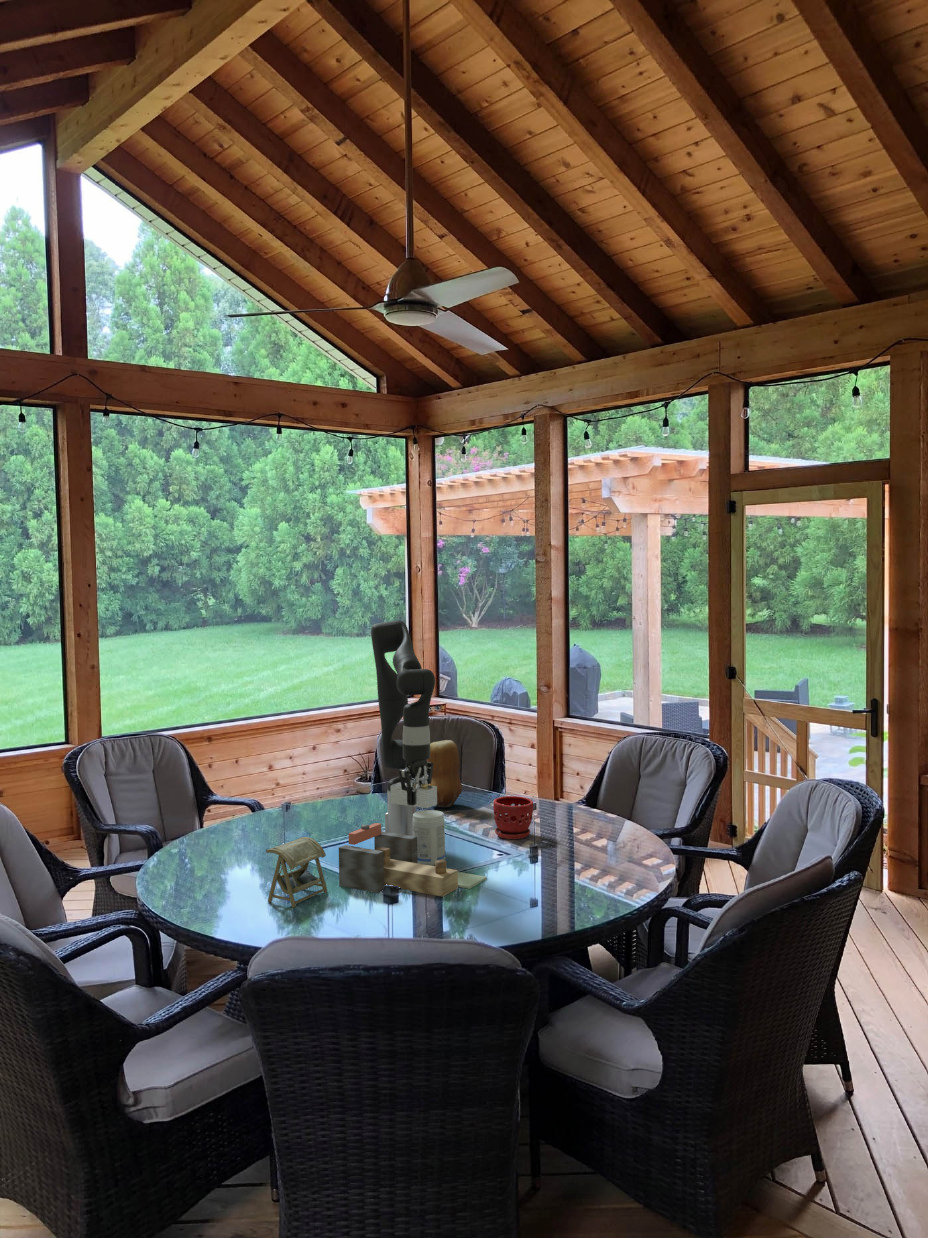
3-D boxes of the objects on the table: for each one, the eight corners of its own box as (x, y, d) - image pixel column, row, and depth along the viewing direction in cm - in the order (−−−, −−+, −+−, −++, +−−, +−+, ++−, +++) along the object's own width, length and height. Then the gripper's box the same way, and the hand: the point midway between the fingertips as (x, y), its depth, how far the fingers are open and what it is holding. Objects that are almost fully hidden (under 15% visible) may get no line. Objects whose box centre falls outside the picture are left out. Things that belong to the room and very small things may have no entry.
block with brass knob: (390, 803, 266) (390, 782, 265) (400, 799, 270) (400, 779, 270) (427, 808, 260) (427, 787, 259) (437, 804, 264) (436, 783, 264)
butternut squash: (425, 803, 363) (424, 737, 362) (460, 802, 365) (460, 736, 364) (428, 812, 350) (427, 744, 349) (464, 811, 351) (464, 743, 350)
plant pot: (487, 839, 312) (487, 803, 312) (501, 829, 325) (501, 794, 324) (525, 843, 308) (525, 806, 307) (538, 833, 320) (538, 797, 319)
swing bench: (294, 908, 248) (293, 852, 247) (265, 903, 252) (264, 847, 252) (328, 892, 261) (327, 838, 260) (300, 887, 265) (299, 834, 265)
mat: (438, 883, 267) (438, 881, 267) (456, 873, 276) (456, 871, 276) (469, 888, 262) (469, 886, 262) (486, 878, 271) (486, 876, 271)
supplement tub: (437, 856, 294) (436, 808, 293) (450, 864, 286) (450, 815, 285) (408, 860, 290) (407, 812, 289) (420, 868, 281) (420, 819, 281)
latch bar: (348, 843, 268) (348, 830, 268) (375, 833, 279) (374, 820, 279) (355, 845, 267) (354, 831, 267) (381, 834, 278) (381, 821, 278)
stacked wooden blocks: (339, 885, 266) (338, 847, 265) (380, 867, 283) (380, 831, 283) (430, 903, 251) (430, 862, 250) (468, 882, 268) (468, 844, 268)
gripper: (413, 746, 255) (414, 810, 256) (441, 738, 268) (442, 799, 269) (390, 744, 259) (390, 807, 260) (419, 736, 272) (419, 796, 272)
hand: (416, 802), depth 264 cm, fingers closed on block with brass knob, 5 cm apart
